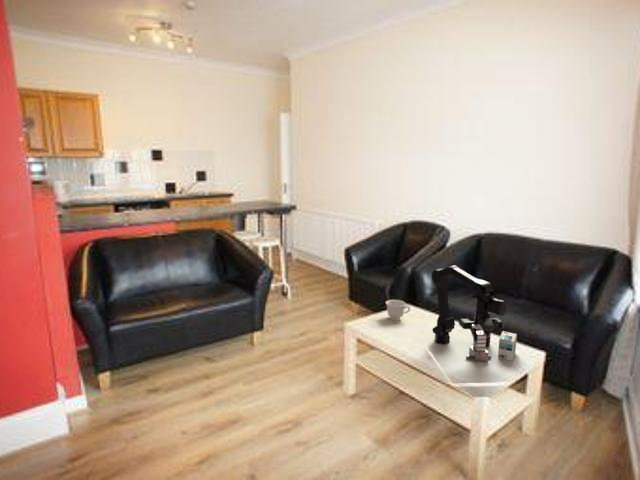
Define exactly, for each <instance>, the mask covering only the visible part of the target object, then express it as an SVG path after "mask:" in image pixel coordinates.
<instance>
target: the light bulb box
mask: <svg viewBox="0 0 640 480" xmlns="http://www.w3.org/2000/svg"><path fill="white" fill-rule="evenodd" d="M517 337H518V334H517V333H513V332H508V331H504V330H502V332H501V334H500V336H499V339H498V352H497V358H498V359H499V358H500V359H503V360H508V361H511V362H513V361H514V359H515V356H516V348H517Z"/></svg>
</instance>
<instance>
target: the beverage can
mask: <svg viewBox="0 0 640 480" xmlns="http://www.w3.org/2000/svg"><path fill="white" fill-rule="evenodd" d="M476 329H478V330H477V331H483V332H484V330H482V327H481V326H480V325H478V326H476ZM491 334H492V331H491V332H490V333H489V335H488V337H487V339H486V348H489V347H490V346H491V336H492V335H491Z"/></svg>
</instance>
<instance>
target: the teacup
mask: <svg viewBox="0 0 640 480" xmlns="http://www.w3.org/2000/svg"><path fill="white" fill-rule="evenodd" d="M385 304H386V310H387V311H386V312H387V316H389V317H390V320H392V321H399V320H401V317H403V315H404V314H407V313H409V312H410V311H411V306H409V305H408V304H407V303H406V302H405V301H404V300H400V299H388V300H386V301H385ZM405 309H408V310H406V311H405Z"/></svg>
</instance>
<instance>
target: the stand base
mask: <svg viewBox="0 0 640 480" xmlns="http://www.w3.org/2000/svg"><path fill="white" fill-rule="evenodd" d="M468 348H469V349H468V351H469V352H468V354H466V355H465V359H466V360H472V361H473V363H488V362H489V360H491V359H492V355H491V354H490V351H488V350H487V348H485V352H476V351H475V350H474V349H473V345H472V346H469V347H468Z"/></svg>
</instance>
